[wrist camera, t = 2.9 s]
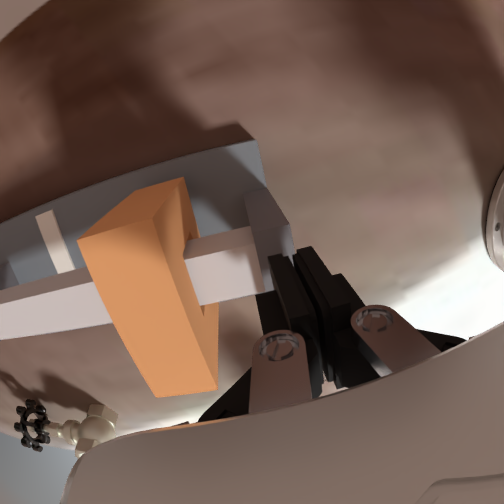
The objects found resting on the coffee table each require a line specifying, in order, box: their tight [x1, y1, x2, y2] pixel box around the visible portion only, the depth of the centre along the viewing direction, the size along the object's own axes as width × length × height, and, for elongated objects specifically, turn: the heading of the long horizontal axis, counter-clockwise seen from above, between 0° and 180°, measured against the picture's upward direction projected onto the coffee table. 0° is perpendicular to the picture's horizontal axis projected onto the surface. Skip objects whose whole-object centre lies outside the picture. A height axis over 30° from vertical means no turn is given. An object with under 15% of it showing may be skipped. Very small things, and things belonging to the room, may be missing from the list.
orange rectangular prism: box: [76, 177, 219, 398], centre depth 15 cm, size 3×8×8 cm, turn 12°
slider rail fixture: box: [0, 139, 295, 341], centre depth 17 cm, size 22×10×8 cm, turn 102°
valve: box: [14, 399, 118, 459], centre depth 25 cm, size 7×7×12 cm
